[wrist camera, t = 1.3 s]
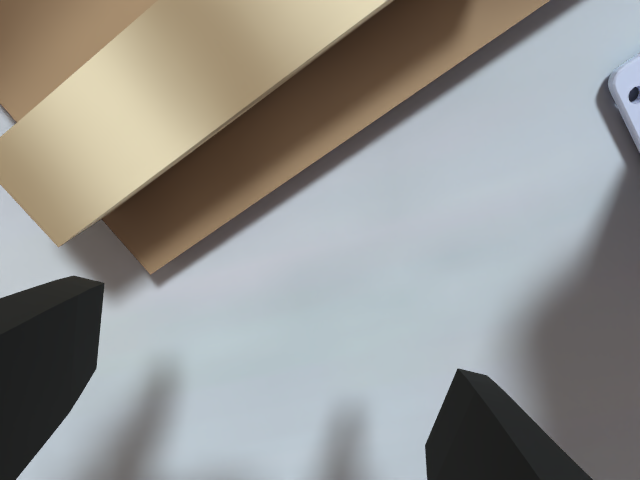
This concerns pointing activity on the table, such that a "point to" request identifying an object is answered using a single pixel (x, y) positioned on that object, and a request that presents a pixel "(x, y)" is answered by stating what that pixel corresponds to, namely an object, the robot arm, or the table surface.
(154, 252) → the stool board
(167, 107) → the leg
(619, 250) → the table surface
